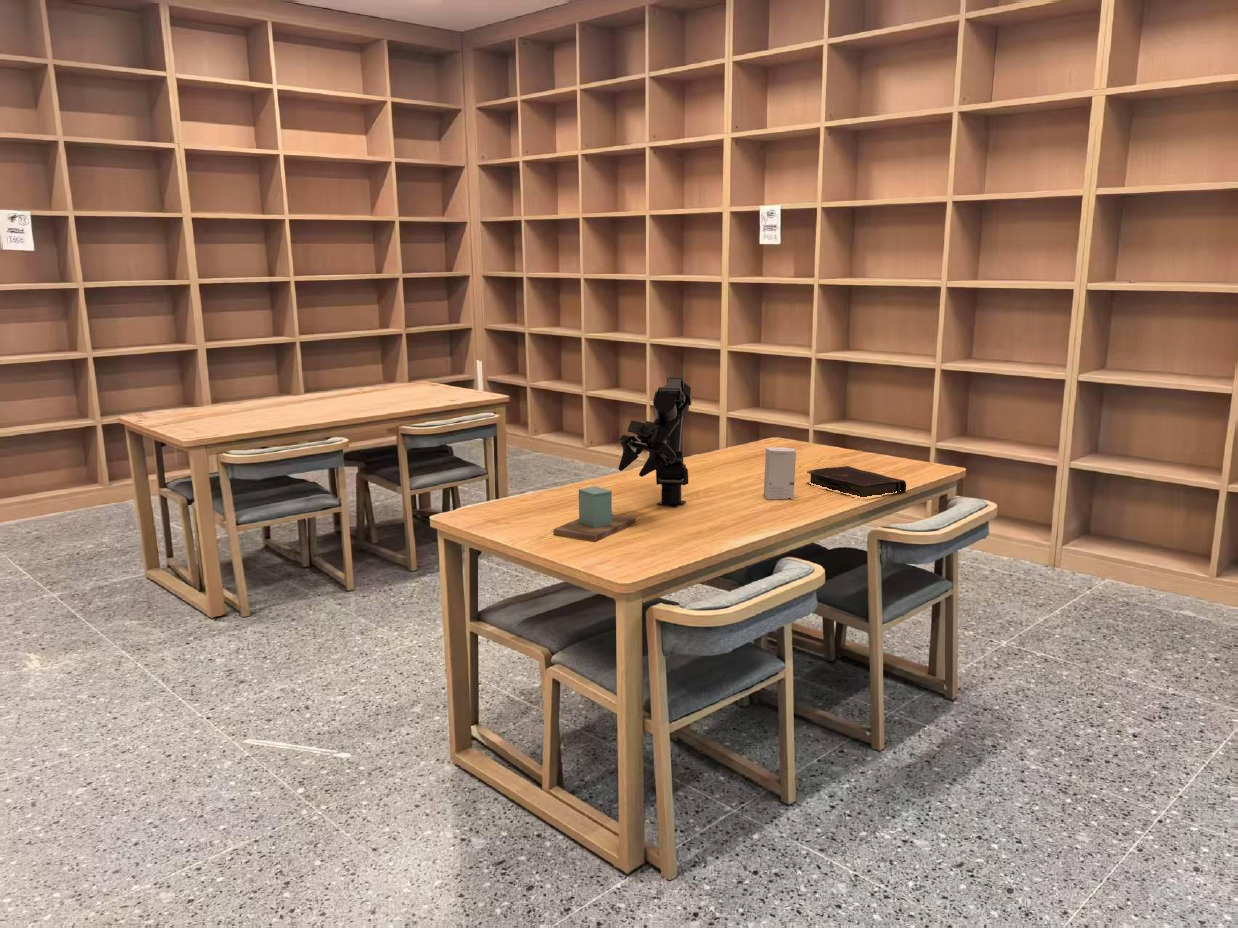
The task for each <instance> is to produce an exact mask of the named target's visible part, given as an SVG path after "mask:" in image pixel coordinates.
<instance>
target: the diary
mask: <svg viewBox="0 0 1238 928" xmlns="http://www.w3.org/2000/svg"><path fill="white" fill-rule="evenodd" d="M806 474H810V481H809V482H811V483H813V484H816V485H820V486H822V487H827V488H829V489H832V490H838V491H840V492H843V493H849V494H852V495H857V496H860V497H867V496H872V495H882V494H885V493H893V492H896V491H897V492H899V491H900V490H901V492H902V494H906V490H907V482H906V480H903V479H900V478H899V479H898V478H895V477H890V476H886V475H883V474H880V473H875V472H871V471H867V470H862V469H859V468H856V467H852V466H850V465H849V466H848V465H845V466H838V467H837V466H835V467H825V468H824V467H823V468H816V469H811V470H807V471H806ZM901 492H899V493H901Z"/></svg>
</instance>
